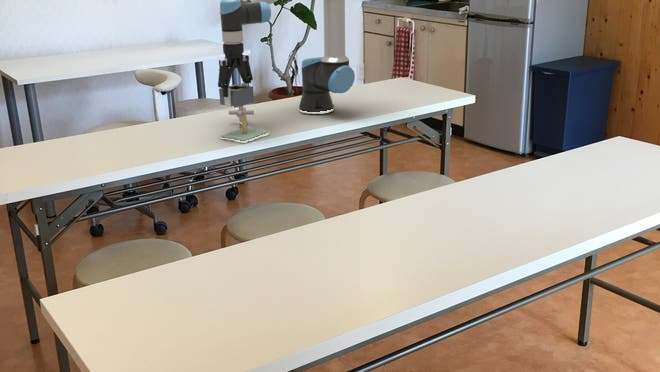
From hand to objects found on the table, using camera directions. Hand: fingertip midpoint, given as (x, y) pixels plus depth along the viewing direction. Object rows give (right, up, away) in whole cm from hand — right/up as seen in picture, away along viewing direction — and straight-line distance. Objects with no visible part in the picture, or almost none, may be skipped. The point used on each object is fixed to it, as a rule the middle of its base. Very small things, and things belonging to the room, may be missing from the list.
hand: (237, 102), depth 267 cm
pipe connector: (-1, -7, +22) cm, 23 cm away
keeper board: (+3, -13, +3) cm, 14 cm away
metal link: (0, 0, 0) cm, 0 cm away
